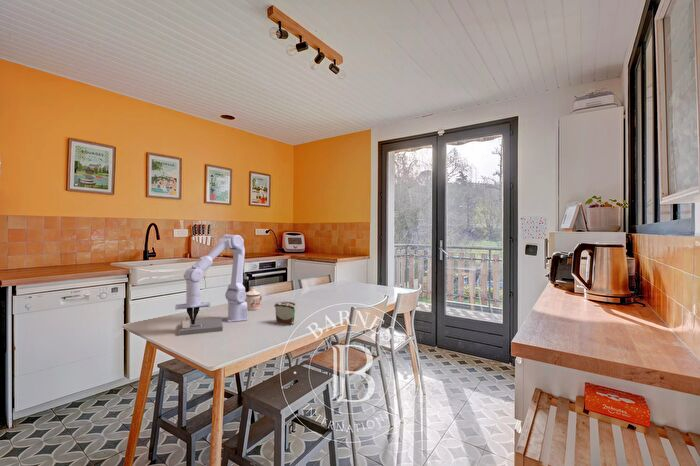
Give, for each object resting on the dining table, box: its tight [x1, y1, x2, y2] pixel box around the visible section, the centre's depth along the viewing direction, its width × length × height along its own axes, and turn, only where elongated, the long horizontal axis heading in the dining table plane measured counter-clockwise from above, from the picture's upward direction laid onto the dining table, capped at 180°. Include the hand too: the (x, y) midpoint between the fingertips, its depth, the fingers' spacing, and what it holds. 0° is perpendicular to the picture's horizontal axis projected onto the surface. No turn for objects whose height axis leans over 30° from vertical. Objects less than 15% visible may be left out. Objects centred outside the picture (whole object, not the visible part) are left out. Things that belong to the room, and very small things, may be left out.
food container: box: [273, 301, 297, 326], centre depth 169 cm, size 12×6×10 cm, turn 65°
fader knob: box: [182, 317, 191, 328], centre depth 152 cm, size 3×4×4 cm
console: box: [178, 317, 224, 336], centre depth 157 cm, size 18×16×2 cm
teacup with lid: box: [244, 288, 263, 311], centre depth 195 cm, size 12×9×12 cm
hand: (193, 323), depth 153 cm, fingers closed
